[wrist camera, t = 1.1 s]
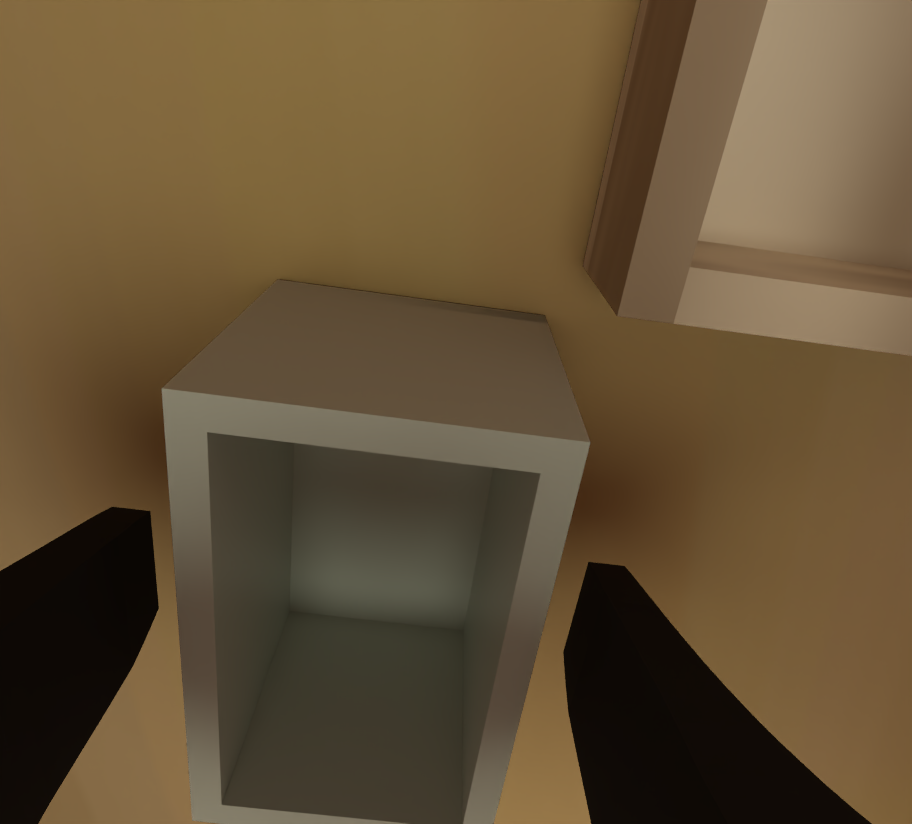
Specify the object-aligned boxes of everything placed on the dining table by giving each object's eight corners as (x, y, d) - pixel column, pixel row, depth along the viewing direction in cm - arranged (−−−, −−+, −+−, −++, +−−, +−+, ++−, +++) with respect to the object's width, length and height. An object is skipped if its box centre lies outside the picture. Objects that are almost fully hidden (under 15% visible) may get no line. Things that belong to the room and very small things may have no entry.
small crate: (545, 315, 12) (590, 442, 8) (481, 633, 16) (486, 849, 11) (277, 279, 12) (161, 388, 7) (273, 609, 15) (192, 820, 11)
